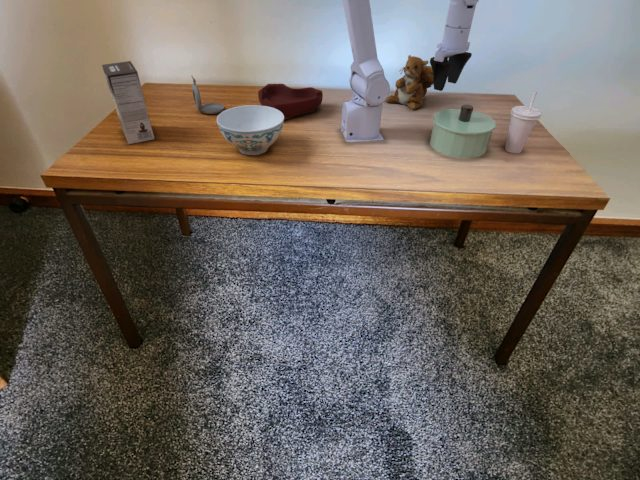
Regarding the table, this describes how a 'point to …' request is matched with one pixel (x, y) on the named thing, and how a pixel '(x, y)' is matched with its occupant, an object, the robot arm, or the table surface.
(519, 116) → the smoothie
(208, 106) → the pocket watch
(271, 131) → the chinaware
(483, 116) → the lid
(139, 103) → the coffee box
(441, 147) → the crock
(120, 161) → the table surface
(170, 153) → the table surface
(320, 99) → the dark red heart-shaped dish
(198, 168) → the table surface
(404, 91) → the stuffed squirrel
